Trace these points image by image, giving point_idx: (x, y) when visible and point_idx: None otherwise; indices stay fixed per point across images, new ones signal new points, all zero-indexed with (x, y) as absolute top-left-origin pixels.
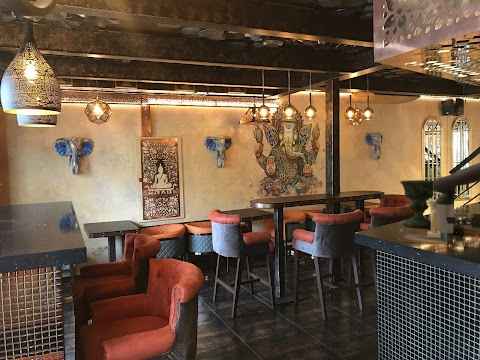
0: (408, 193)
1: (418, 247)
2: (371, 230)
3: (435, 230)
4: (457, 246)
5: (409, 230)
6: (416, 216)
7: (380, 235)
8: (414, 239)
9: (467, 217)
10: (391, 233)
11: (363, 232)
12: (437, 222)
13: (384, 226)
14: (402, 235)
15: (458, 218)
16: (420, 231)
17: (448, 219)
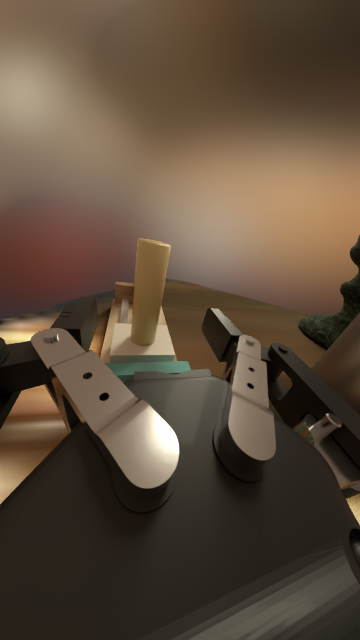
0: (357, 243)
1: (15, 329)
2: (209, 289)
3: (132, 331)
4: (18, 480)
5: (265, 325)
6: (339, 315)
7: (171, 292)
8: (110, 318)
9: (150, 484)
10: (203, 303)
11: (184, 282)
12: (329, 347)
13: (261, 302)
14: (115, 294)
15: (231, 367)
16: (277, 341)
17: (80, 299)
